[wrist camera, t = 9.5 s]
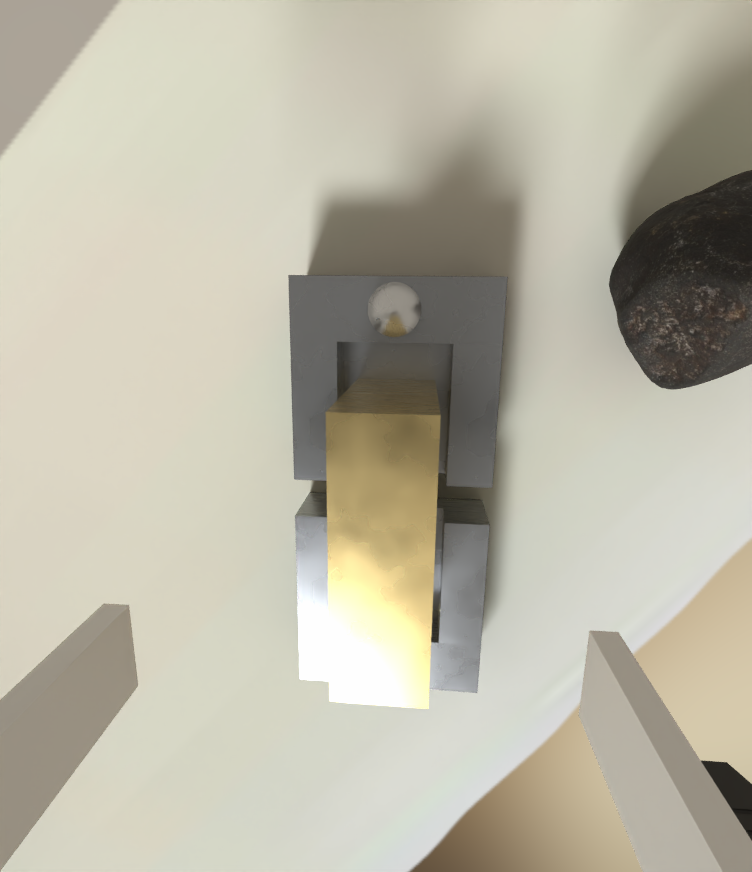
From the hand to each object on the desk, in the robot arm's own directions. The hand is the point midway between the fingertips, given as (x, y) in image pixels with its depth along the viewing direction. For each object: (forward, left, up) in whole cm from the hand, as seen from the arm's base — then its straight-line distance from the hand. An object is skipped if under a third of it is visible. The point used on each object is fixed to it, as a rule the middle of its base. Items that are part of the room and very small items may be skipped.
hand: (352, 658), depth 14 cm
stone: (+14, +11, -16) cm, 24 cm away
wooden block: (0, 0, -14) cm, 14 cm away
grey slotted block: (0, 0, -15) cm, 15 cm away
